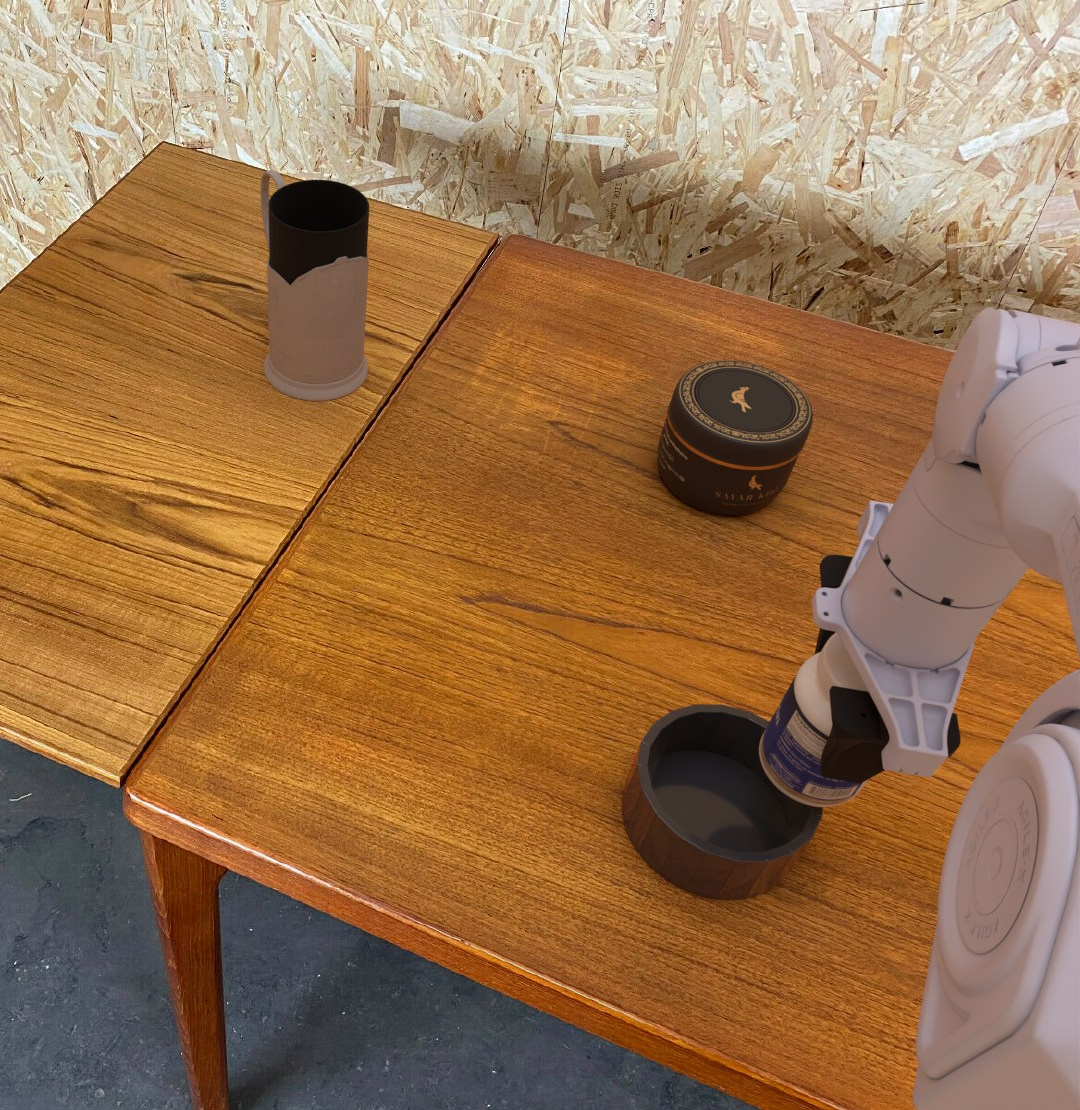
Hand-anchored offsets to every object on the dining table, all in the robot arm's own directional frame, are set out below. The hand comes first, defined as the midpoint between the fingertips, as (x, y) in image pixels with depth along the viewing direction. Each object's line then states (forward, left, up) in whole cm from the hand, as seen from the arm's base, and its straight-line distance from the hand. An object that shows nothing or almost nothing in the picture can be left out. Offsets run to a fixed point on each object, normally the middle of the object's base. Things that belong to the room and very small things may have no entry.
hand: (837, 721), depth 60 cm
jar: (+27, -12, -11) cm, 32 cm away
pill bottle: (0, 0, -5) cm, 5 cm away
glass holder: (+51, +14, -11) cm, 54 cm away
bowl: (+1, +4, -10) cm, 11 cm away
